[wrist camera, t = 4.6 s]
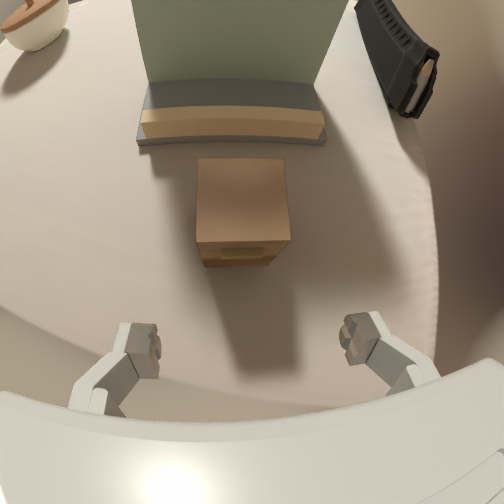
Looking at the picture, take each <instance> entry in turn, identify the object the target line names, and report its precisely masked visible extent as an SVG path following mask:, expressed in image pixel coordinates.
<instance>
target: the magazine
mask: <svg viewBox="0 0 504 504" xmlns="http://www.w3.org/2000/svg"><path fill="white" fill-rule="evenodd" d="M354 10H355V11H356V14H357V18H358V22H359V26H360V30H361V34H362V37H363V41H364V44H365V47H366V50H367V53H368V56H369V58H370V61H371V63H372V66H373V68H374V70H375V72H376V74H377V76H378V78H379V80H380V82H381V85H382V87H383V89H384V91H385V93H386V95H387V97H388V98H389V100H390V101H389V107H391V108H393V109H395V110H396V111H397V112H398V113H399V114H400V116H402V117H405V118H411V117H412V118H415V119H418V118H419V117H420V115H421V113H422V112H423V110H424V108H425V106H426V104H427V102H428V101H429V99H430V97H431V95H432V93H433V90H432V89H433V85H434V83H435V80H436V75H437V68H436V64H437V61H438V58H439V56H440V54H439V52H438V51H437V50H436V49H434V48H432V47H430V46H429V45H428V44H426V43H425V42H423V41H422V40H421V39H420V37H419V36H418V35H416V33H415V32H414V31H413V30H412V29H411V28H410V26H409V25H408V24H407V23H406V22H405V20H404V19H403V17H402V16H401V15H400V13H399V11H398V10H397V8H396V7H395V5H394V3H393V2H392V0H359V1H358V2H357V4H356V5H355V7H354Z"/></svg>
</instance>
